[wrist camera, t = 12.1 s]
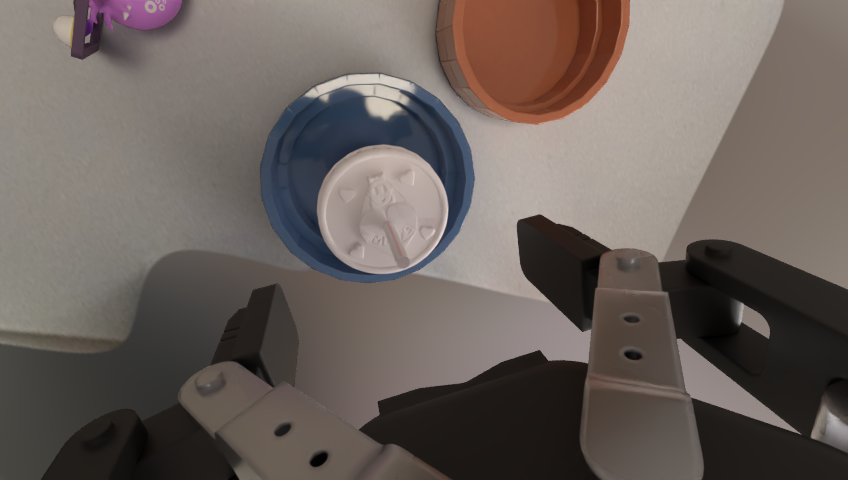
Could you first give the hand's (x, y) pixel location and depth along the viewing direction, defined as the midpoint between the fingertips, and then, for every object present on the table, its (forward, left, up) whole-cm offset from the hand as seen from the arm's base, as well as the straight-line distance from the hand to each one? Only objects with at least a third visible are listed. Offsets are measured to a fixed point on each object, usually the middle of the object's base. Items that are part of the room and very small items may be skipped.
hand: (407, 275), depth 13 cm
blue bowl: (0, 0, -17) cm, 17 cm away
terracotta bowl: (+12, +7, -17) cm, 22 cm away
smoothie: (0, 0, -16) cm, 16 cm away
